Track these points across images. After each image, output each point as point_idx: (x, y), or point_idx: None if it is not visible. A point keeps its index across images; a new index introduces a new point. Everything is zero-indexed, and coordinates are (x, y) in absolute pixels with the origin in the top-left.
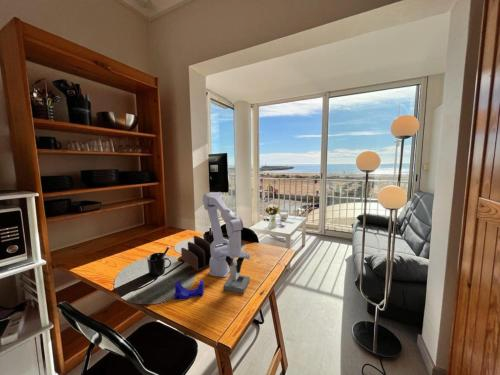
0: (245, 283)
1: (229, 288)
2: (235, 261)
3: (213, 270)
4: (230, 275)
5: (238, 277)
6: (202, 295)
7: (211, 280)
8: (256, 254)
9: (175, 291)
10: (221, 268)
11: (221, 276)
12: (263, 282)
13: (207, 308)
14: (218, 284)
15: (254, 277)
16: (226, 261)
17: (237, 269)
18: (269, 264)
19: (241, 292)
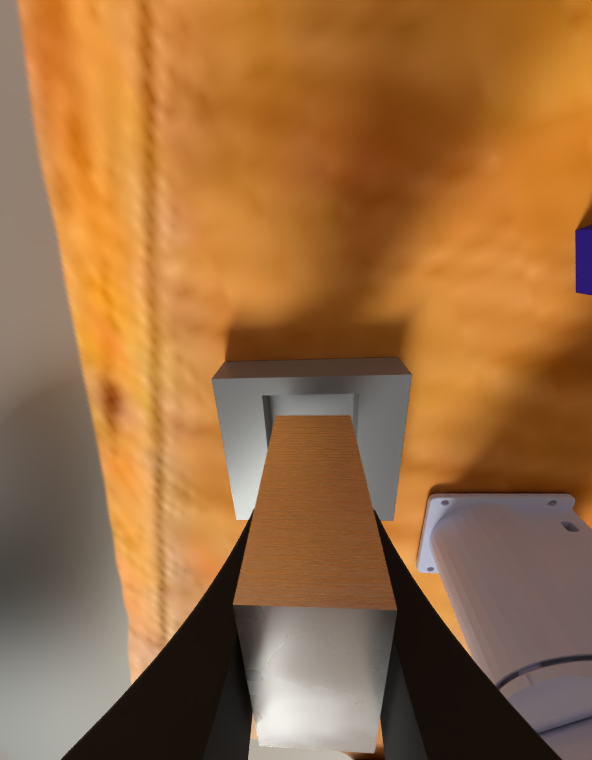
0: (230, 444)
1: (347, 368)
2: (322, 716)
3: (559, 533)
4: (350, 447)
5: None
6: (584, 228)
7: (535, 442)
8: None
9: None
10: (498, 559)
11: (464, 494)
12: (154, 497)
13: (480, 50)
14: (462, 413)
15: (231, 527)
16: (541, 747)
17: None
18: None
19: (242, 364)
